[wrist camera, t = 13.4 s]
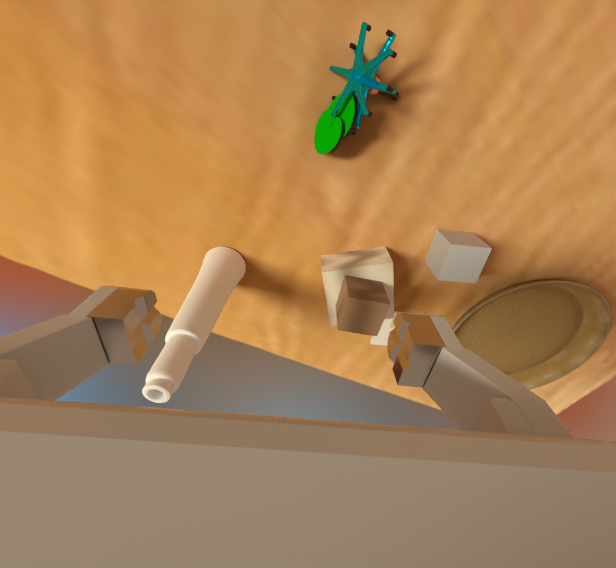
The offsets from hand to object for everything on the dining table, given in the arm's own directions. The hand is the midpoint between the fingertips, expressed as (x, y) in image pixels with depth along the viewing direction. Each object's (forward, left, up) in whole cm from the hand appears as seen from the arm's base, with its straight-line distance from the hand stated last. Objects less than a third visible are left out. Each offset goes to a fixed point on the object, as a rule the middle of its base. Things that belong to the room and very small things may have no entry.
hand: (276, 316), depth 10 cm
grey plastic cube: (-21, +9, -29) cm, 37 cm away
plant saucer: (-37, +23, -30) cm, 53 cm away
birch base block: (-9, +15, -29) cm, 34 cm away
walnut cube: (-9, +15, -24) cm, 30 cm away
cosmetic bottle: (+10, +15, -29) cm, 34 cm away
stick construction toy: (-5, -7, -30) cm, 31 cm away
